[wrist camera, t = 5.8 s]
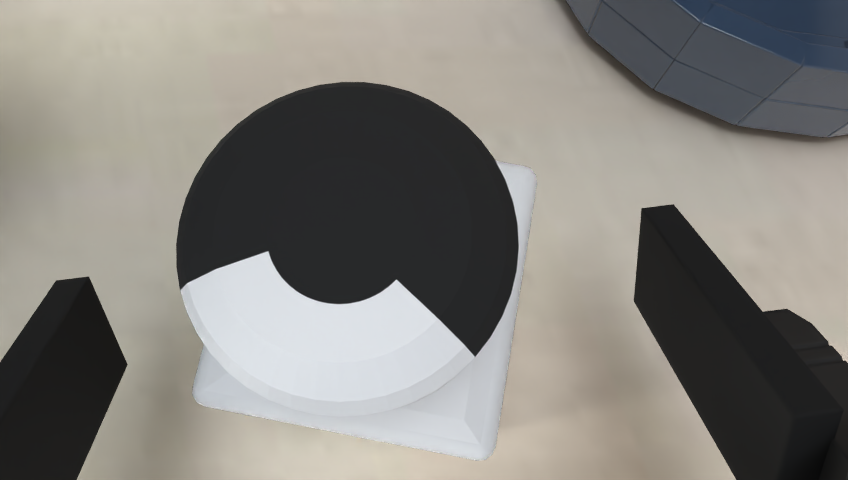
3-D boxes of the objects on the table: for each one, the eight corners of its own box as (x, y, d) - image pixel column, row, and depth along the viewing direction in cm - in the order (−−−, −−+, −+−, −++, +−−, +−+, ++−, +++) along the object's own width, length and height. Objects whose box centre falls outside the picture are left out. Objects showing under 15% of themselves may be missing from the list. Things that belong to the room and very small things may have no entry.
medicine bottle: (310, 197, 24) (189, 4, 12) (509, 233, 23) (585, 69, 12) (261, 401, 22) (69, 406, 10) (475, 443, 22) (523, 497, 10)
